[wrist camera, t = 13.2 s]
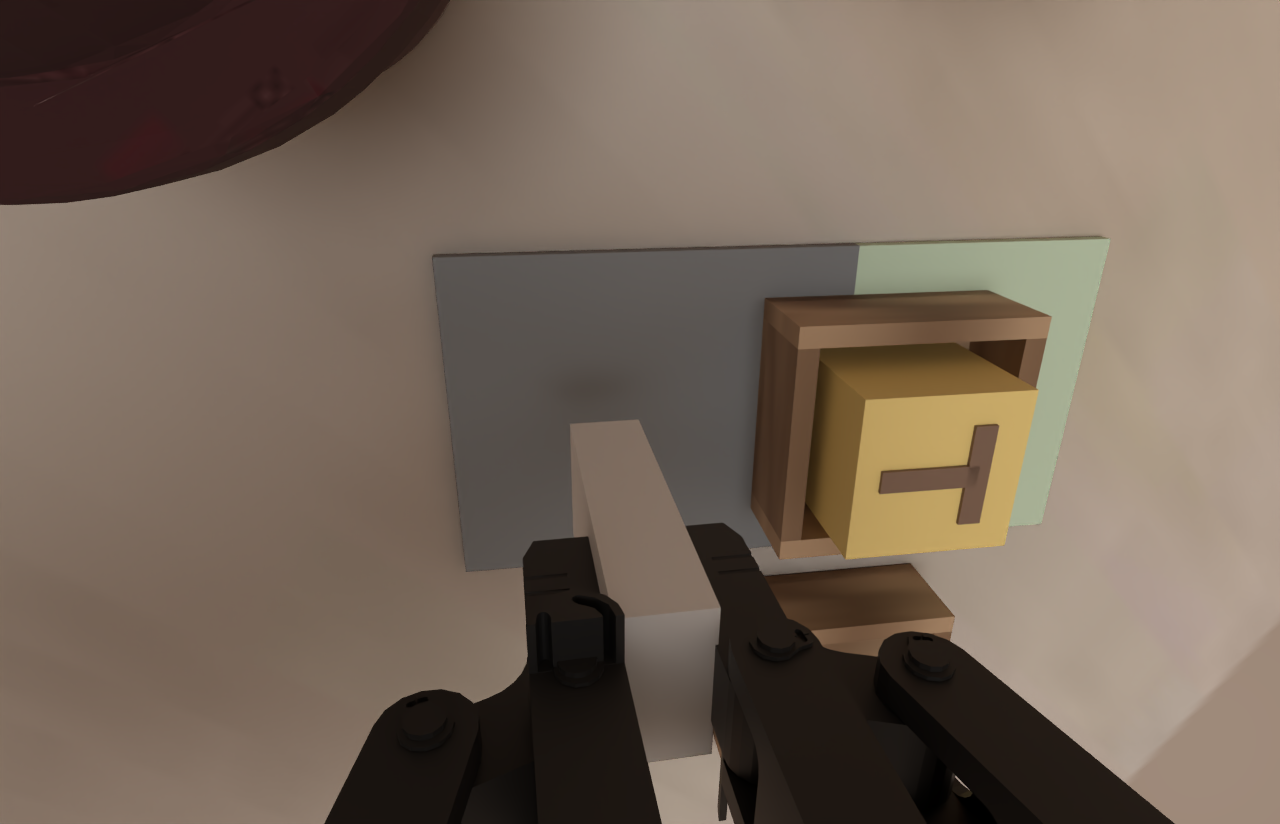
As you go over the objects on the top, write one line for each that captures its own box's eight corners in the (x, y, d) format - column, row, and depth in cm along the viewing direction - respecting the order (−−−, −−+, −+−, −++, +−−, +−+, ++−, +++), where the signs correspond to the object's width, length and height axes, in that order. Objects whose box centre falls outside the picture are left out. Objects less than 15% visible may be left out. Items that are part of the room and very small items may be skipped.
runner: (466, 564, 24) (465, 571, 24) (433, 254, 20) (432, 257, 20) (1033, 518, 27) (1040, 523, 26) (1101, 236, 23) (1110, 238, 23)
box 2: (712, 732, 29) (733, 799, 26) (720, 580, 26) (744, 637, 23) (885, 712, 30) (922, 775, 27) (910, 563, 27) (954, 616, 24)
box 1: (750, 507, 24) (779, 559, 22) (764, 297, 22) (800, 326, 19) (949, 492, 25) (1001, 540, 23) (987, 290, 23) (1052, 316, 20)
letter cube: (789, 478, 24) (847, 561, 19) (801, 343, 22) (867, 401, 18) (922, 469, 24) (1006, 547, 20) (944, 336, 22) (1042, 391, 18)
